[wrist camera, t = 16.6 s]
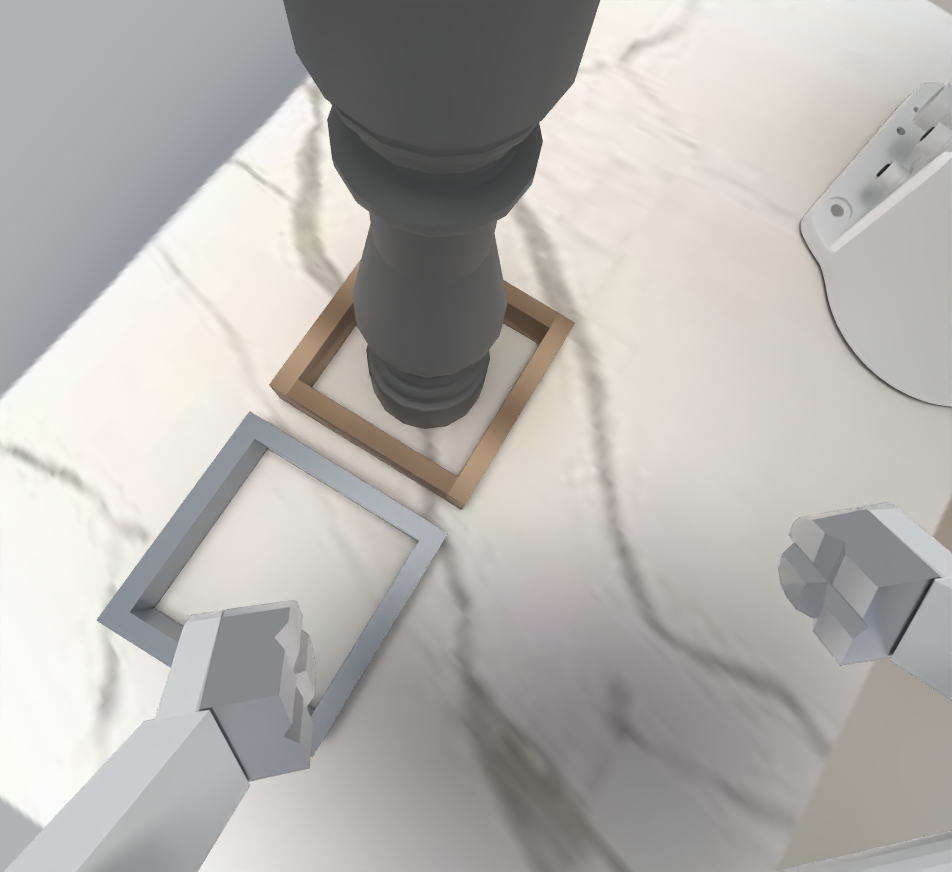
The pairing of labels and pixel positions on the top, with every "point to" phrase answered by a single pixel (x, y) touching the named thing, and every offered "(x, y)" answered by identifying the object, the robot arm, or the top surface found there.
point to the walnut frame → (456, 490)
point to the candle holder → (436, 169)
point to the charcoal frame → (199, 513)
